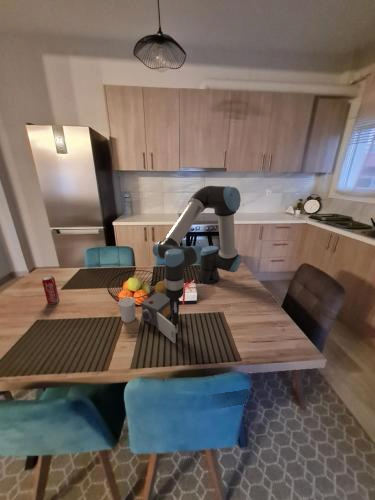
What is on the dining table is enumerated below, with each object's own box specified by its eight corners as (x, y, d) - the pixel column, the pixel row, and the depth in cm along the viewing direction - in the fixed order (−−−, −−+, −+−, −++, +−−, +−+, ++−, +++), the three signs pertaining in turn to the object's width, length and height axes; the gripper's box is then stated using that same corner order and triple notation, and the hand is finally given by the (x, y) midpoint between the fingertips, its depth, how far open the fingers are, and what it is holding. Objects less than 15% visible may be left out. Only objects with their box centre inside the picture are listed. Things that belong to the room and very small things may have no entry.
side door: (156, 329, 97) (155, 313, 94) (159, 327, 98) (158, 311, 95) (173, 344, 89) (172, 327, 86) (175, 342, 90) (175, 325, 87)
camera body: (158, 307, 113) (157, 290, 109) (173, 314, 108) (173, 296, 104) (139, 322, 102) (138, 303, 98) (155, 330, 97) (154, 311, 93)
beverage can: (48, 306, 114) (42, 282, 109) (46, 300, 119) (40, 277, 113) (60, 301, 118) (55, 278, 112) (58, 296, 122) (52, 274, 117)
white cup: (131, 311, 110) (129, 295, 107) (139, 318, 105) (138, 301, 101) (117, 318, 105) (115, 301, 101) (125, 325, 100) (123, 308, 96)
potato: (171, 277, 126) (156, 276, 126) (170, 289, 114) (153, 288, 114) (170, 290, 130) (155, 289, 130) (169, 303, 118) (153, 302, 117)
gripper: (164, 279, 90) (165, 322, 99) (165, 295, 78) (166, 343, 87) (181, 278, 91) (181, 321, 100) (185, 294, 79) (184, 342, 88)
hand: (174, 332), depth 93 cm, fingers closed
